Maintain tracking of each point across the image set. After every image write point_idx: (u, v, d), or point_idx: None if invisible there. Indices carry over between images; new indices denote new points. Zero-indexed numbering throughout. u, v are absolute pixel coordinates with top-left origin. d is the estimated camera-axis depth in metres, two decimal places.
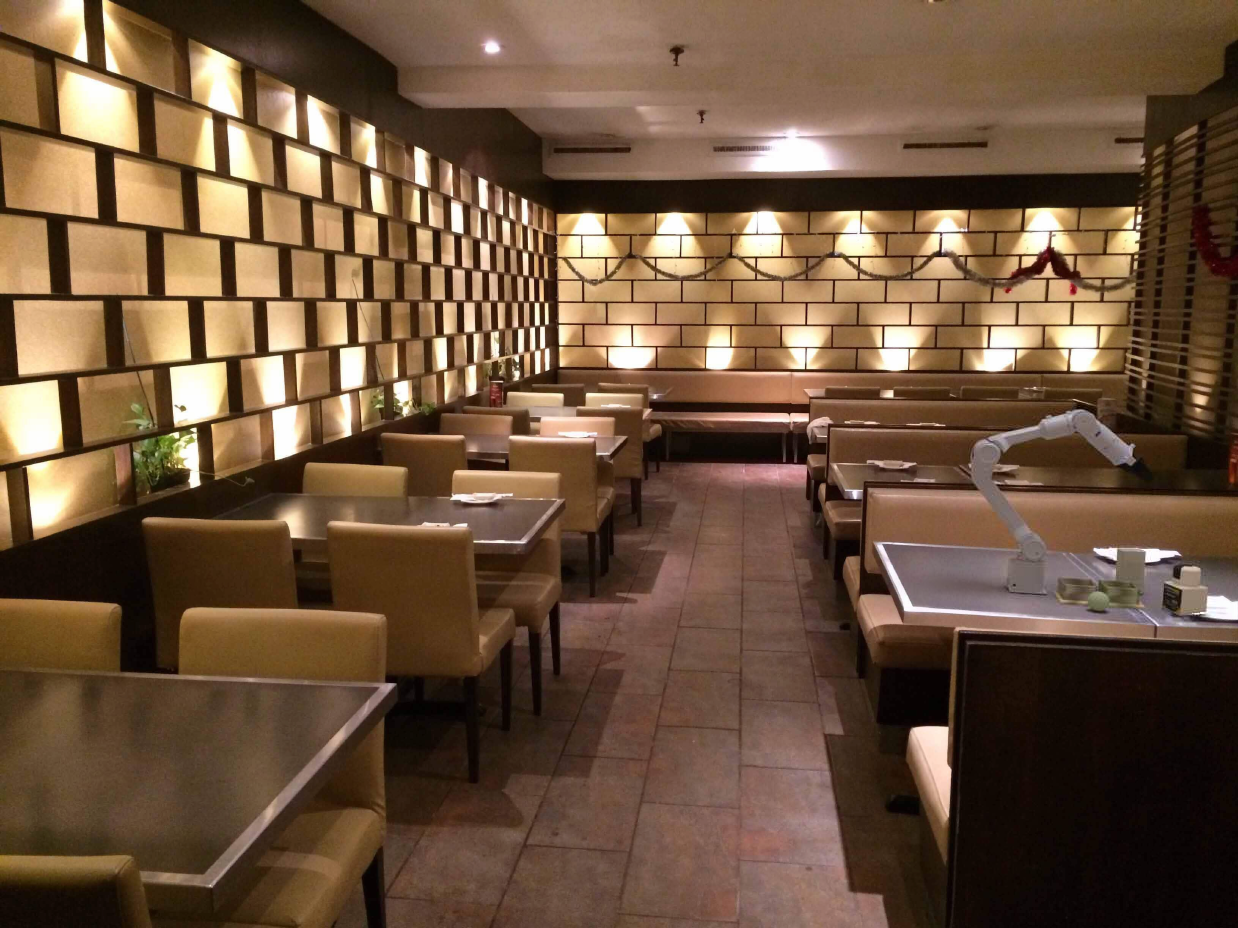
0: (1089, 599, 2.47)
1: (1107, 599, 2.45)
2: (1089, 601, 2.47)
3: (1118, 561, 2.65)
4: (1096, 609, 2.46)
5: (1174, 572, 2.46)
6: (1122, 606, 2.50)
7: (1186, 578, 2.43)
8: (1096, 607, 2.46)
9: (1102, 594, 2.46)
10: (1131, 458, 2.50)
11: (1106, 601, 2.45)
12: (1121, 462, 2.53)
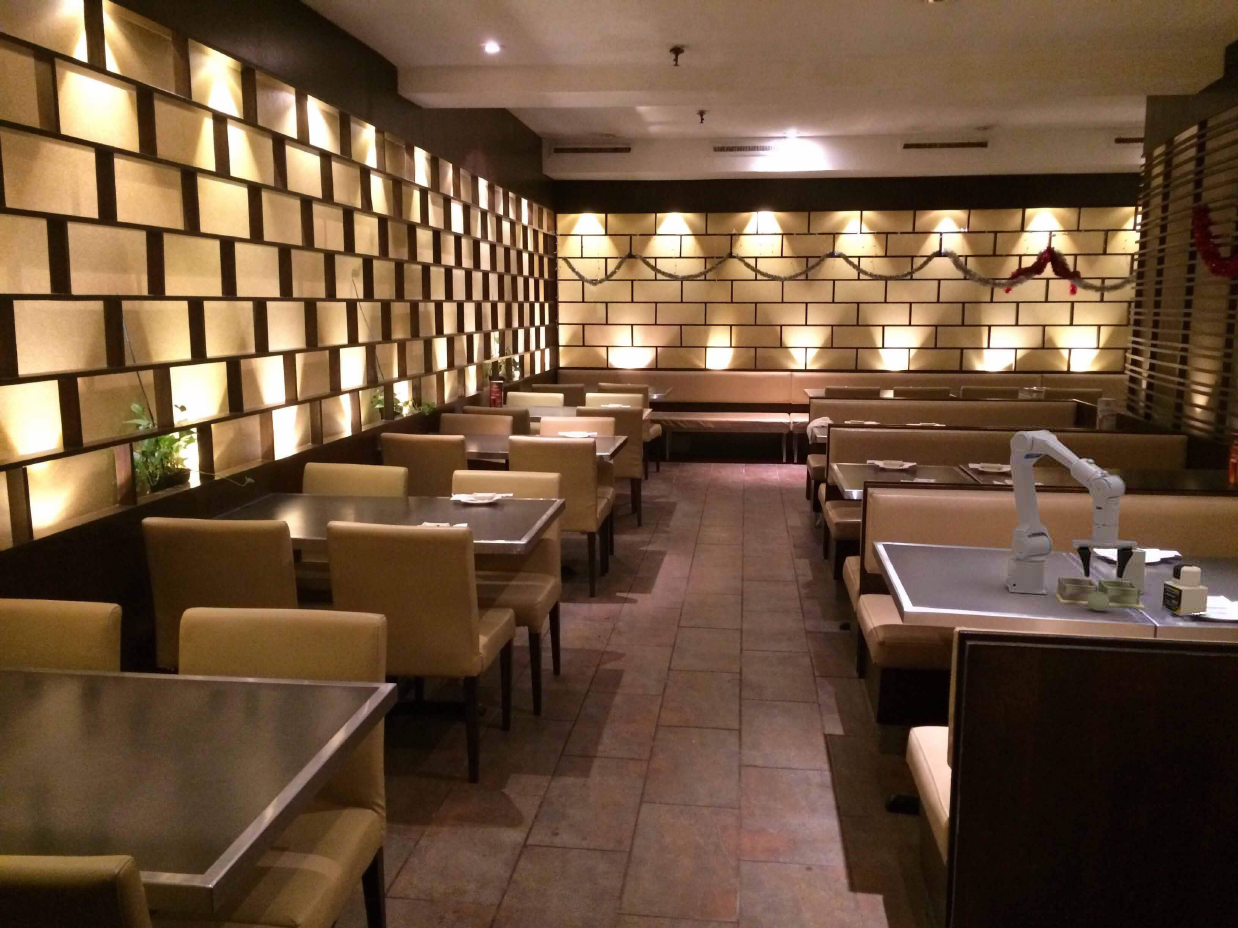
0: (1089, 599, 2.47)
1: (1107, 599, 2.45)
2: (1089, 601, 2.47)
3: None
4: (1096, 609, 2.46)
5: (1174, 572, 2.46)
6: (1122, 606, 2.50)
7: (1186, 578, 2.43)
8: (1096, 607, 2.46)
9: (1102, 594, 2.46)
10: (1074, 543, 2.46)
11: (1106, 601, 2.45)
12: None
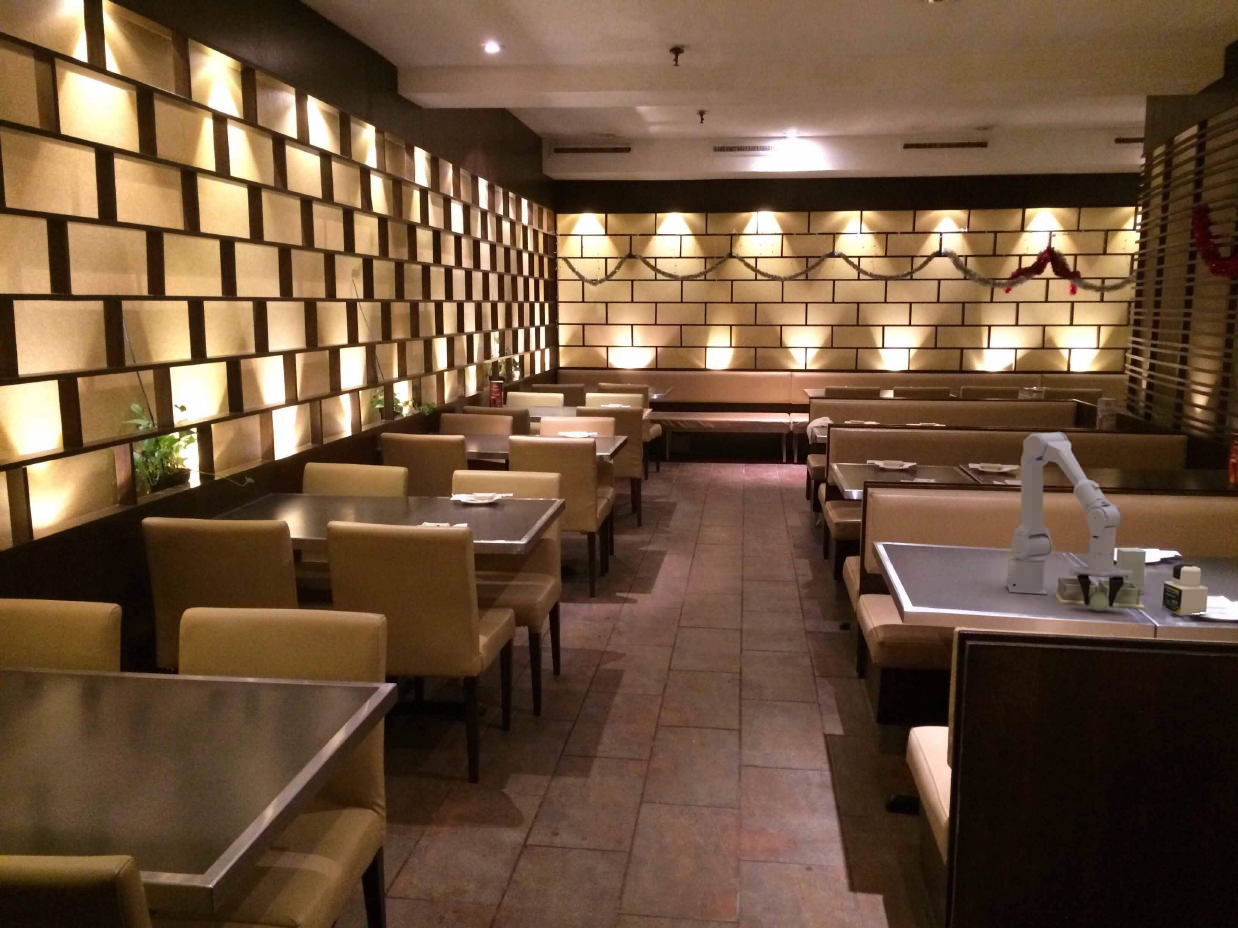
0: (1089, 599, 2.47)
1: (1107, 599, 2.45)
2: (1089, 601, 2.47)
3: (1118, 561, 2.65)
4: (1096, 609, 2.46)
5: (1174, 572, 2.46)
6: (1122, 606, 2.50)
7: (1186, 578, 2.43)
8: (1096, 607, 2.46)
9: (1102, 594, 2.46)
10: (1069, 570, 2.48)
11: (1106, 601, 2.45)
12: None
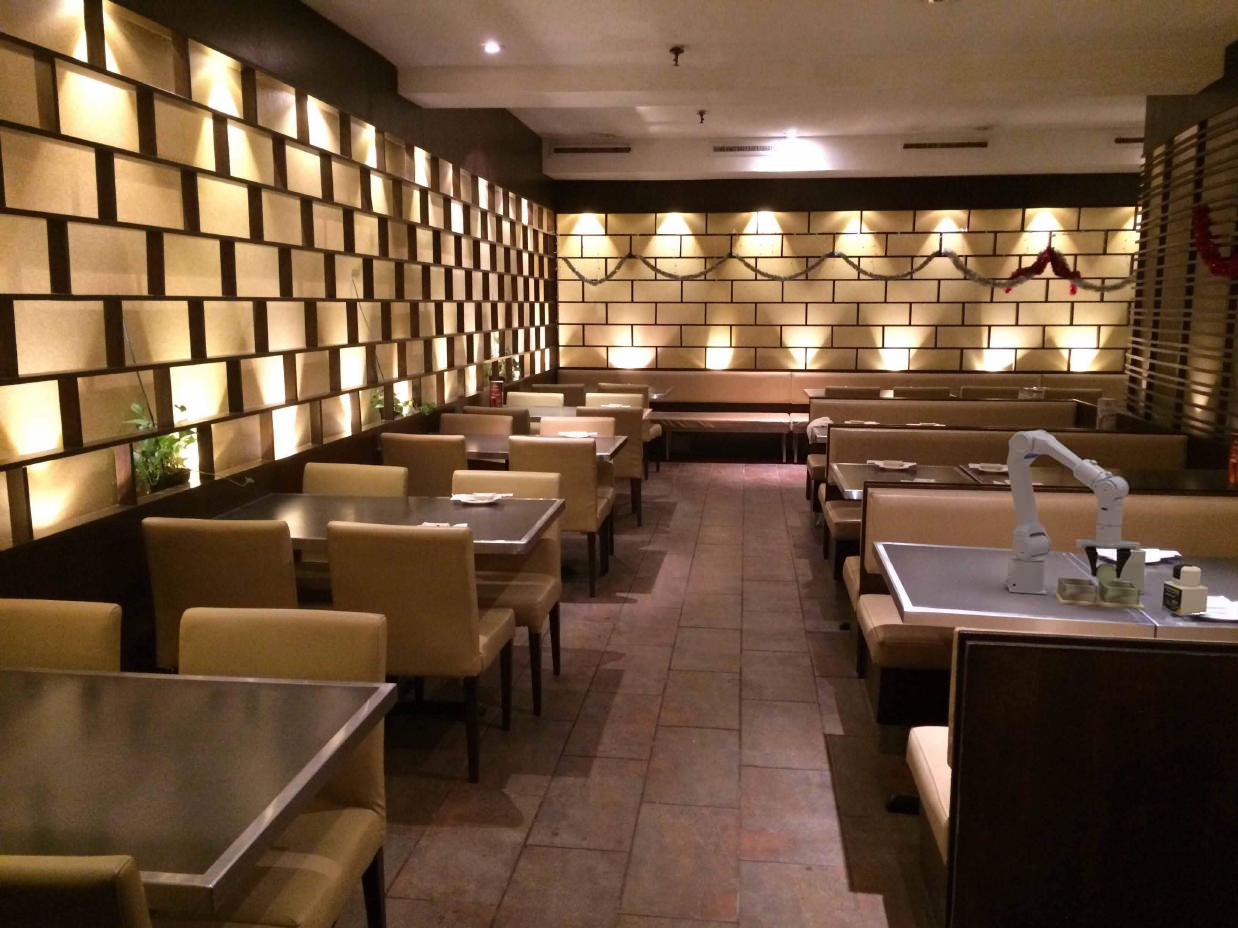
0: (1096, 571, 2.48)
1: (1114, 571, 2.47)
2: (1096, 573, 2.48)
3: None
4: (1103, 581, 2.48)
5: (1174, 572, 2.46)
6: (1122, 606, 2.50)
7: (1186, 578, 2.43)
8: (1104, 579, 2.47)
9: (1109, 566, 2.47)
10: (1077, 542, 2.49)
11: (1114, 573, 2.46)
12: None
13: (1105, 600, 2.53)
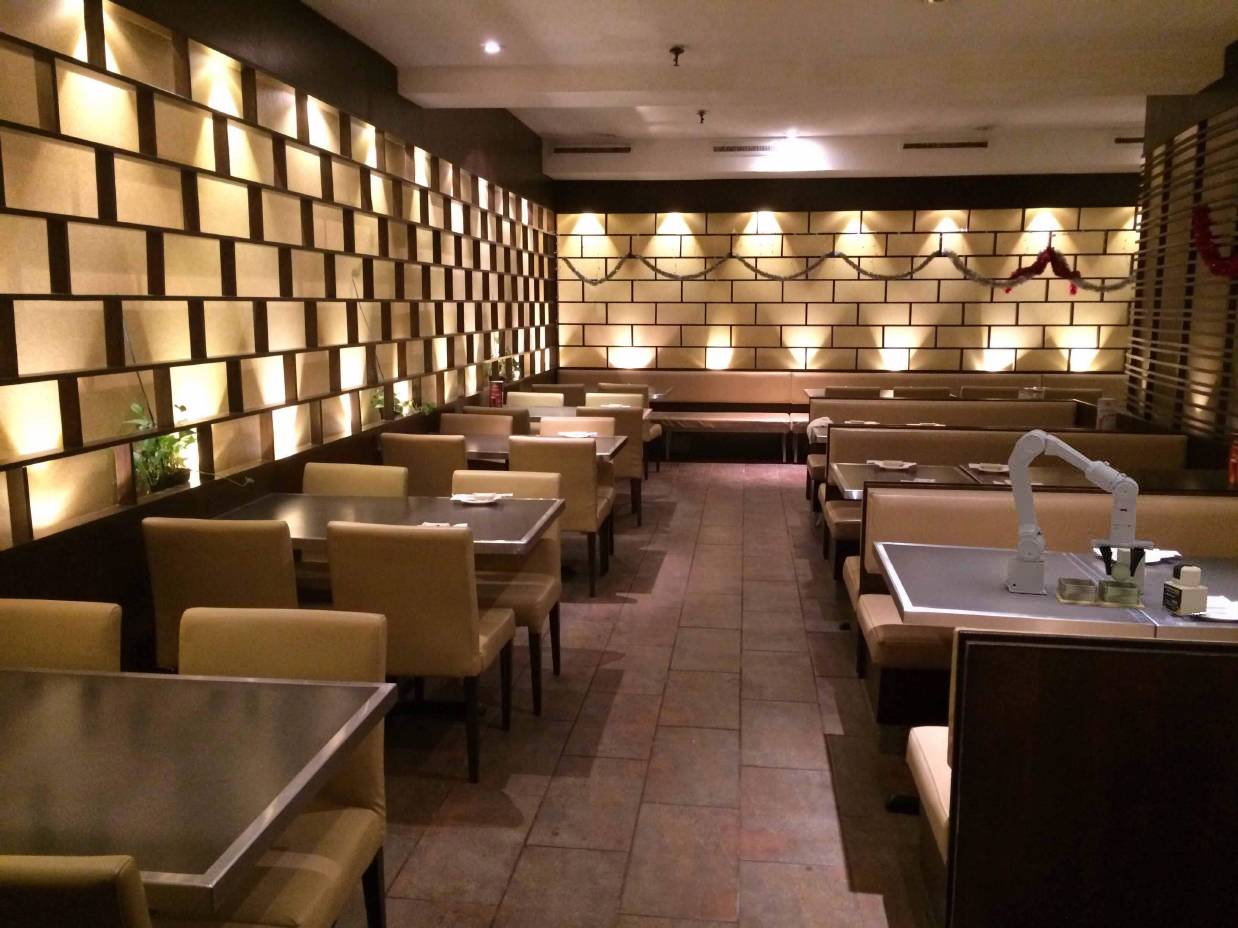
0: (1111, 570, 2.55)
1: (1128, 569, 2.53)
2: (1111, 572, 2.55)
3: (1118, 561, 2.65)
4: (1118, 579, 2.54)
5: (1174, 572, 2.46)
6: (1122, 606, 2.50)
7: (1186, 578, 2.43)
8: (1118, 577, 2.53)
9: (1124, 565, 2.54)
10: (1092, 542, 2.56)
11: (1128, 572, 2.53)
12: None
13: (1105, 600, 2.53)
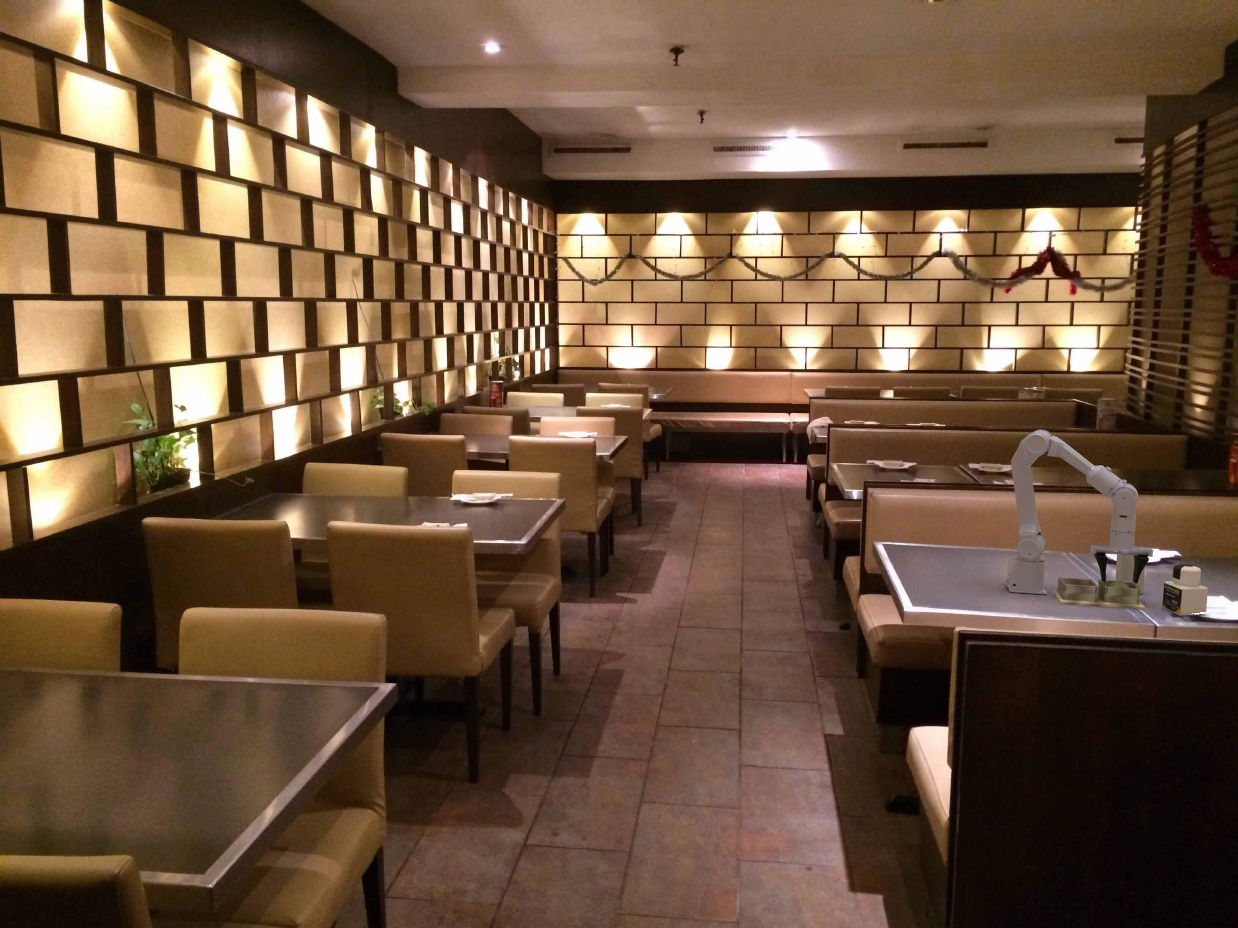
0: None
1: None
2: None
3: (1118, 561, 2.65)
4: None
5: (1174, 572, 2.46)
6: (1122, 606, 2.50)
7: (1186, 578, 2.43)
8: None
9: (1122, 583, 2.54)
10: (1091, 548, 2.56)
11: None
12: None
13: (1105, 600, 2.53)
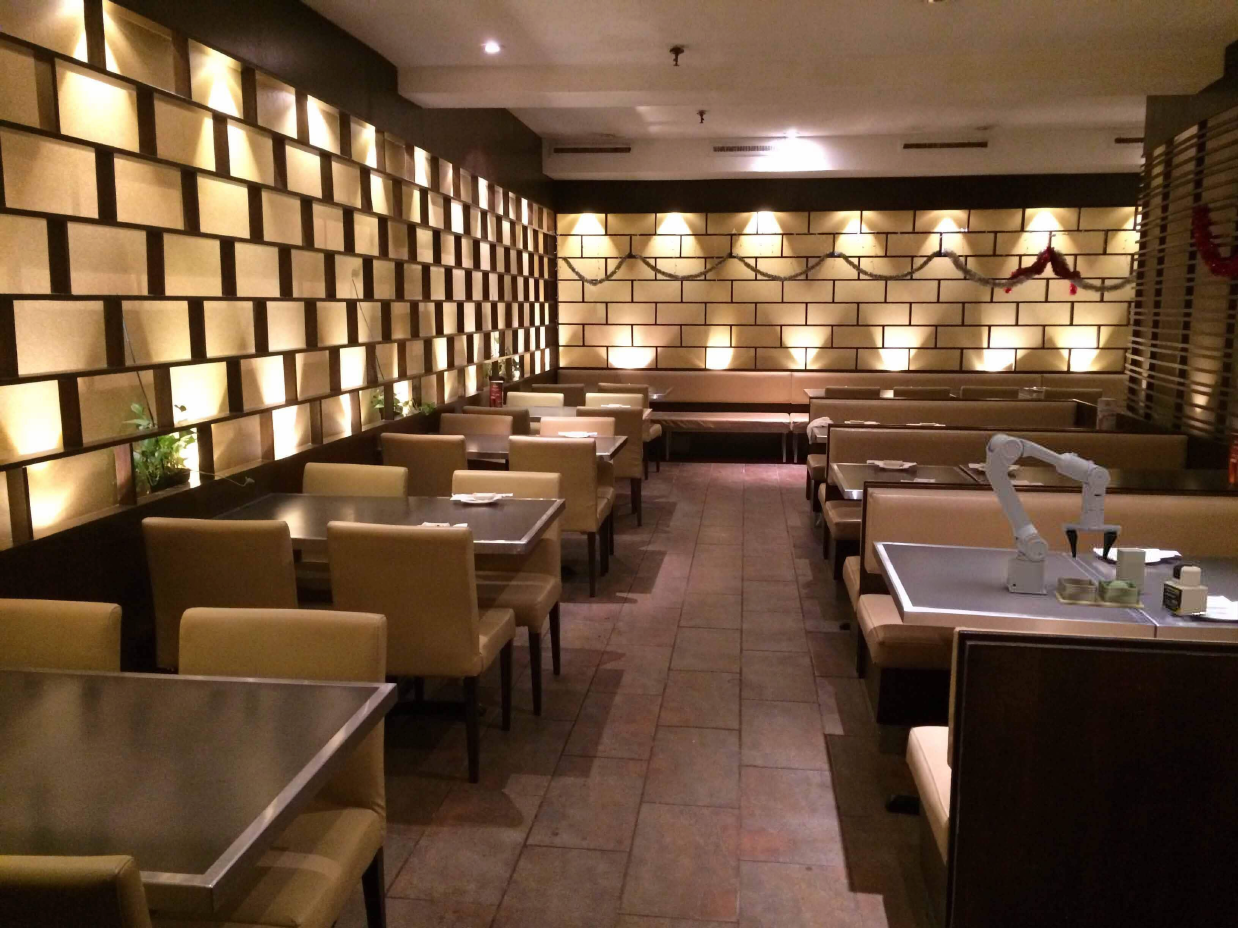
0: None
1: None
2: None
3: (1118, 561, 2.65)
4: None
5: (1174, 572, 2.46)
6: (1122, 606, 2.50)
7: (1186, 578, 2.43)
8: None
9: (1122, 583, 2.54)
10: (1062, 526, 2.65)
11: None
12: None
13: (1105, 600, 2.53)
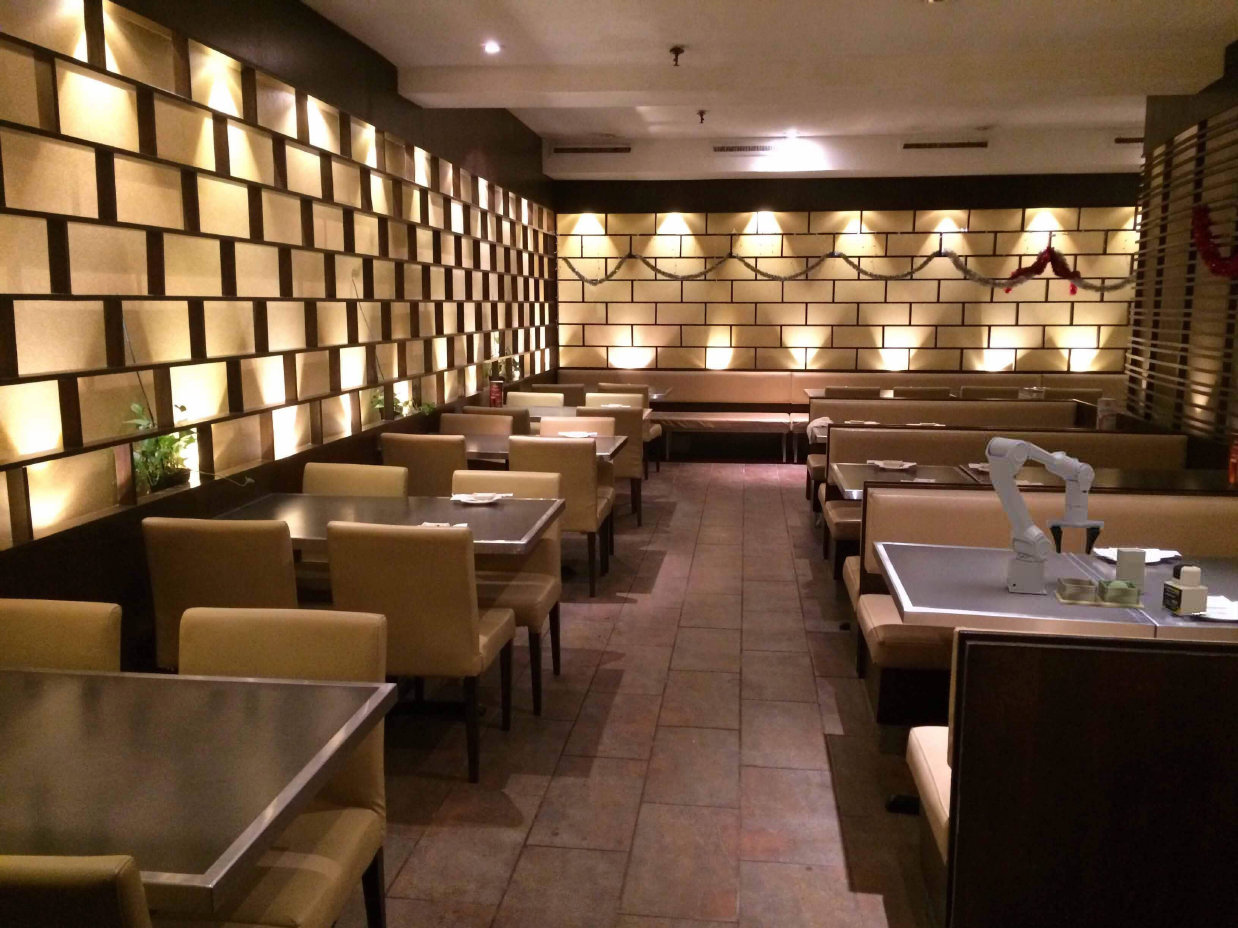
0: None
1: (1127, 587, 2.54)
2: None
3: (1118, 561, 2.65)
4: None
5: (1174, 572, 2.46)
6: (1122, 606, 2.50)
7: (1186, 578, 2.43)
8: None
9: (1121, 583, 2.54)
10: (1047, 522, 2.71)
11: None
12: None
13: (1105, 600, 2.53)
